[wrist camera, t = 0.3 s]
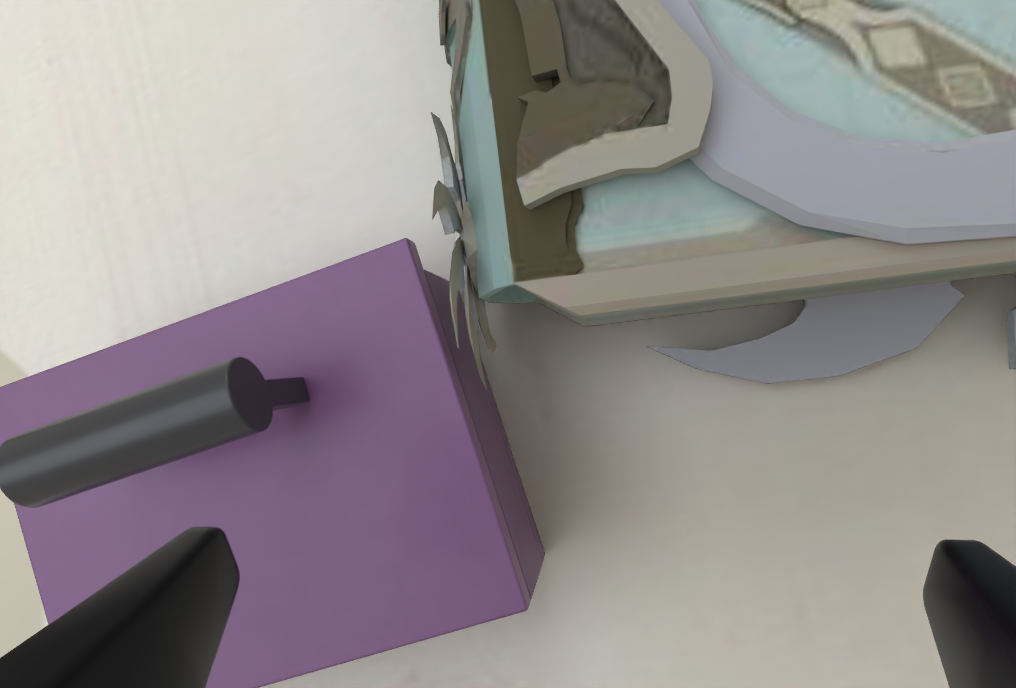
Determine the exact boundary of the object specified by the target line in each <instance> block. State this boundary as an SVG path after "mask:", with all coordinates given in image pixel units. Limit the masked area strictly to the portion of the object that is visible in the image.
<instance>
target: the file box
mask: <svg viewBox="0 0 1016 688" xmlns="http://www.w3.org/2000/svg"><path fill="white" fill-rule="evenodd" d="M424 273H425V276H426V279H427V282H428V285H429V289H430V292H431V295H432V298H433V301H434V304H435V307H436V310H437V313H438V316H439V319H440V322H441V325H442V328H443V331H444V335H445V338H446V341H447V344H448V347H449V350H450V353H451V356H452V359H453V362H454V365H455V368H456V371H457V374H458V378H459V381H460V384H461V387H462V390H463V393H464V396H465V399H466V402H467V405H468V408H469V411H470V414H471V417H472V420H473V424H474V427H475V430H476V433H477V436H478V439H479V442H480V445H481V448H482V451H483V454H484V457H485V460H486V463H487V466H488V470H489V473H490V476H491V479H492V482H493V485H494V488H495V491H496V494H497V497H498V500H499V503H500V506H501V509H502V512H503V516H504V519H505V522H506V525H507V528H508V531H509V534H510V537H511V540H512V543H513V546H514V549H515V552H516V555H517V559H518V562H519V565H520V568H521V571H522V574H523V577H524V580H525V583H526V586H527V589H528V592H529V595H530V598H532V595H533V592H534V589H535V585H536V582H537V579H538V575H539V572H540V569H541V566H542V562H543V559H544V556H545V553H544V550H543V547H542V544H541V541H540V538H539V535H538V531H537V528H536V525H535V522H534V519H533V516H532V513H531V510H530V507H529V504H528V501H527V498H526V495H525V492H524V489H523V486H522V483H521V480H520V477H519V474H518V471H517V468H516V465H515V461H514V458H513V455H512V452H511V449H510V446H509V443H508V440H507V437H506V434H505V431H504V428H503V425H502V422H501V419H500V416H499V413H498V410H497V407H496V404H495V401H494V398H493V394H492V391H491V388H490V385H489V382H488V379H487V376H486V373H485V370H484V367H483V364H482V361H481V365H482V370H483V374H484V379H485V383H486V388H487V390H486V388H485V386H484V384H483V382H482V379H481V377H480V375H479V371H478V367H477V363H476V359H475V356H474V352H473V349H472V345H471V342H470V338H469V333H468V327H467V321H466V314H465V309H464V306H463V303H462V300H461V297H460V294H459V291H458V297H457V325H458V345H459V348H458V347H457V341H456V336H455V330H454V324H453V318H452V312H451V303H450V281H447V280H445V279H443V278H441V277H439V276H437V275H435V274H432V273H430V272H428V271H426V270H424ZM480 360H481V358H480Z"/></svg>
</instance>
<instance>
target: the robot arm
mask: <svg viewBox="0 0 1016 688" xmlns="http://www.w3.org/2000/svg"><path fill="white" fill-rule="evenodd" d="M239 582H240V573H239V568H238V565H237V562H236V560H235V557H234V554H233V552H232V549H231V547H230V544H229V541H228V539H227V536H226V534H225V532H224V531H223V530H222V529H221V528H218V527H191V528H188V529H187V530H185V531H183V532H182V533H181V534H179V535H178V536H176V537H175V538H173V539H172V540H170V541H169V542H168V543H166V544H165V545H163V546H162V547H160V548H159V549H157V550H156V551H155V552H153V553H152V554H150V555H149V556H147V557H146V558H144V559H143V560H142V561H140V562H139V563H137V564H136V565H134V566H133V567H131V568H130V569H128V570H127V571H126V572H124V573H123V574H121V575H120V576H118V577H117V578H115V579H114V580H113V581H111V582H110V583H108V584H107V585H105V586H104V587H102V588H101V589H100V590H98V591H97V592H95V593H94V594H92V595H91V596H89V597H88V598H87V599H85V600H84V601H82V602H81V603H79V604H78V605H76V606H75V607H74V608H72V609H71V610H69V611H68V612H66V613H65V614H63V615H62V616H60V617H59V618H58V619H56V620H55V621H53V622H52V623H50V624H49V625H47V626H46V627H45V628H43V629H42V630H40V631H39V632H37V633H36V634H34V635H33V636H32V637H30V638H29V639H27V640H26V641H24V642H23V643H21V644H20V645H19V646H17V647H16V648H14V649H13V650H11V651H10V652H8V653H7V654H5V655H4V656H3V657H1V658H0V688H205V687H206V684H207V682H208V679H209V676H210V673H211V670H212V667H213V664H214V661H215V658H216V655H217V652H218V649H219V645H220V642H221V639H222V636H223V633H224V630H225V627H226V624H227V621H228V618H229V615H230V612H231V609H232V606H233V603H234V600H235V597H236V594H237V591H238V587H239ZM923 600H924V606H925V610H926V613H927V616H928V620H929V623H930V626H931V629H932V632H933V636H934V639H935V642H936V645H937V649H938V652H939V655H940V658H941V661H942V665H943V668H944V671H945V674H946V678H947V681H948V684H949V687H950V688H1016V566H1014V565H1013V564H1011V563H1010V562H1009V561H1007V560H1006V559H1005V558H1003V557H1002V556H1000V555H999V554H998V553H996V552H995V551H993V550H992V549H991V548H989V547H988V546H986V545H985V544H983V543H981V542H979V541H975V540H942V541H940V542H939V543H938V544H937V546H936V548H935V550H934V554H933V557H932V560H931V564H930V567H929V571H928V574H927V578H926V581H925V584H924V589H923Z"/></svg>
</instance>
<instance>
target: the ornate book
mask: <svg viewBox="0 0 1016 688" xmlns="http://www.w3.org/2000/svg"><path fill="white" fill-rule="evenodd" d="M439 27H440V45H444V47H445V54H446V60H447V63H448V64H449V65H450V66H451V67H452V71H453V72H452V82H451V91H450V93H451V99H452V105H453V110H452V106H451V111H452V120H453V130H454V139H455V163H454V161H453V157H452V153H451V149H450V146H449V142H448V138H447V135H446V131H445V129H444V127H443V125H442V122H441V120H440V118H438V117H437V116H436V115H434V114H433V113H432V112H431V115H432V118H433V122H434V125H435V129H436V132H437V136H438V141H439V148H440V154H441V161H442V169H443V177H444V184H445V185H443V184H442V183H441V182H440V181H439V180H438V182H437V184H436V186H435V188H434V202H433V218H434V216H435V214H436V213H437V211H438V212H439V215H440V218H441V221H442V225H443V228H444V231H445V235H447V234H451V233H455V231H456V237H455V244H454V250H453V252H452V261H451V272H450V303H451V312H452V318H453V324H454V330H455V336H456V341H457V347H458V348H459V345H458V325H457V297H458V291H459V290H464V299H465V314H466V321H467V327H468V333H469V338H470V342H471V345H472V349H473V352H474V356H475V359H476V363H477V367H478V371H479V375H480V377H481V379H482V382H483V384H484V386H485V388H486V383H485V379H484V374H483V370H482V365H481V360H480V352H479V343H478V322H479V324H480V327H481V330H482V333H483V335H484V338H485V341H486V344H487V346H488V349H489V350H490V351H491V352H492V353H493V351H494V349H495V347H496V343H495V342H494V340H493V339H492V337H491V335H490V333H489V328H488V322H487V317H486V310H485V302H484V301H486V302H488V303H540V304H542V305H544V306H546V307H548V308H550V309H551V310H553V311H555V312H557V313H559V314H561V315H563V316H565V317H567V318H569V319H570V320H572V321H574V322H576V323H578V324H580V325H582V326H595V325H603V324H611V323H619V322H627V321H635V320H643V319H651V318H659V317H667V316H674V315H682V314H690V313H698V312H706V311H714V310H722V309H730V308H738V307H746V306H754V305H762V304H770V303H778V302H786V301H794V300H802V299H804V305H805V306H804V307H803V309H802V310H801V311H800V313H799V314H798V316H797V317H796V319H795V320H794V322H793V323H792V324H790V325H788V326H786V327H783V328H781V329H779V330H777V331H775V332H773V333H771V334H768V335H766V336H764V337H762V338H760V339H756V340H752V341H748V342H744V343H740V344H736V345H732V346H728V347H724V348H720V349H716V350H712V351H707V350H694V349H680V348H667V347H653V346H647V347H649V348H651V349H654V350H656V351H658V352H660V353H663V354H665V355H667V356H669V357H671V358H674V359H676V360H678V361H680V362H683V363H685V364H687V365H689V366H691V367H694V368H696V369H701V370H705V371H710V372H715V373H719V374H724V375H729V376H733V377H738V378H743V379H747V380H752V381H757V382H761V383H766V384H769V383H778V382H787V381H797V380H806V379H815V378H824V377H834V376H841V375H844V374H846V373H849V372H852V371H855V370H857V369H860V368H863V367H866V366H868V365H871V364H874V363H877V362H879V361H882V360H885V359H888V358H890V357H893V356H896V355H899V354H901V353H904V352H907V351H910V350H912V349H915V348H917V347H918V346H919V345H920V344H921V343H922V342H923V341H924V340H925V338H926V337H927V336H928V335H929V334H930V333H931V332H932V331H933V330H934V329H935V327H936V326H937V325H938V324H939V323H940V322H941V321H942V320H943V319H944V318H945V316H946V315H947V314H948V313H949V312H950V311H951V310H952V309H953V308H954V307H955V305H956V304H957V303H958V302H959V301H960V300H961V299H962V298H963V297H964V296H965V295H964V294H962V293H961V292H960V291H958V290H957V289H956V288H954V287H953V286H952V285H950V282H951V281H954V280H962V279H970V278H978V277H986V276H994V275H1002V274H1010V273H1016V0H439ZM453 111H454V113H453ZM433 218H432V220H433ZM464 278H465V281H464ZM1006 314H1007V335H1008V356H1009V369H1016V306H1015V307H1013V308H1012V309H1011V310H1009V311H1008V312H1006ZM486 390H487V388H486Z"/></svg>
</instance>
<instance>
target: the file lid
mask: <svg viewBox="0 0 1016 688" xmlns="http://www.w3.org/2000/svg"><path fill="white" fill-rule="evenodd" d="M0 488H1V490H2V491H3V493H4V494H5V495H6V496H7V497H8V498H9V499H10V500H11V501H13V502H14V504H15V508H16V511H17V515H18V518H19V522H20V525H21V529H22V533H23V536H24V540H25V543H26V547H27V550H28V554H29V557H30V561H31V564H32V568H33V571H34V575H35V578H36V582H37V585H38V589H39V593H40V596H41V600H42V603H43V607H44V610H45V614H46V617H47V621H48V624H50V623H52V622H53V621H55V620H56V619H58V618H59V617H60V616H62V615H63V614H65V613H66V612H68V611H69V610H71V609H72V608H74V607H75V606H76V605H78V604H79V603H81V602H82V601H84V600H85V599H87V598H88V597H89V596H91V595H92V594H94V593H95V592H97V591H98V590H100V589H101V588H102V587H104V586H105V585H107V584H108V583H110V582H111V581H113V580H114V579H115V578H117V577H118V576H120V575H121V574H123V573H124V572H126V571H127V570H128V569H130V568H131V567H133V566H134V565H136V564H137V563H139V562H140V561H142V560H143V559H144V558H146V557H147V556H149V555H150V554H152V553H153V552H155V551H156V550H157V549H159V548H160V547H162V546H163V545H165V544H166V543H168V542H169V541H170V540H172V539H173V538H175V537H176V536H178V535H179V534H181V533H182V532H183V531H185V530H187V529H188V528H191V527H218V528H221V529H222V530H223V531H224V532H225V534H226V536H227V539H228V541H229V544H230V547H231V549H232V552H233V554H234V557H235V560H236V562H237V565H238V568H239V573H240V582H239V587H238V591H237V594H236V597H235V600H234V603H233V606H232V609H231V612H230V615H229V618H228V621H227V624H226V627H225V630H224V633H223V636H222V639H221V642H220V645H219V649H218V652H217V655H216V658H215V661H214V664H213V667H212V670H211V673H210V676H209V679H208V682H207V684H206V687H205V688H259V687H262V686H266V685H269V684H273V683H276V682H279V681H283V680H286V679H290V678H293V677H297V676H300V675H304V674H307V673H311V672H314V671H318V670H321V669H325V668H328V667H332V666H335V665H339V664H342V663H346V662H349V661H353V660H356V659H360V658H363V657H367V656H370V655H374V654H377V653H381V652H384V651H388V650H391V649H395V648H398V647H401V646H405V645H408V644H412V643H415V642H419V641H422V640H426V639H429V638H433V637H436V636H440V635H443V634H447V633H450V632H454V631H457V630H461V629H464V628H468V627H471V626H475V625H478V624H482V623H485V622H489V621H492V620H496V619H499V618H503V617H506V616H510V615H513V614H517V613H520V612H524V611H526V610H528V607H529V604H530V599H531V598H530V595H529V592H528V589H527V586H526V583H525V580H524V577H523V574H522V571H521V568H520V565H519V562H518V559H517V555H516V552H515V549H514V546H513V543H512V540H511V537H510V534H509V531H508V528H507V525H506V522H505V519H504V516H503V512H502V509H501V506H500V503H499V500H498V497H497V494H496V491H495V488H494V485H493V482H492V479H491V476H490V473H489V470H488V466H487V463H486V460H485V457H484V454H483V451H482V448H481V445H480V442H479V439H478V436H477V433H476V430H475V427H474V424H473V420H472V417H471V414H470V411H469V408H468V405H467V402H466V399H465V396H464V393H463V390H462V387H461V384H460V381H459V378H458V374H457V371H456V368H455V365H454V362H453V359H452V356H451V353H450V350H449V347H448V344H447V341H446V338H445V335H444V331H443V328H442V325H441V322H440V319H439V316H438V313H437V310H436V307H435V304H434V301H433V298H432V295H431V292H430V289H429V285H428V282H427V279H426V276H425V273H424V270H423V267H422V264H421V261H420V258H419V255H418V252H417V249H416V246H415V243H414V242H412V241H411V240H409V239H407V238H405V239H402V240H399V241H396V242H394V243H391V244H388V245H386V246H383V247H380V248H377V249H375V250H372V251H369V252H367V253H364V254H361V255H358V256H356V257H353V258H350V259H348V260H345V261H342V262H339V263H337V264H334V265H331V266H328V267H326V268H323V269H320V270H318V271H315V272H312V273H309V274H307V275H304V276H301V277H299V278H296V279H293V280H290V281H288V282H285V283H282V284H279V285H277V286H274V287H271V288H269V289H266V290H263V291H260V292H258V293H255V294H252V295H250V296H247V297H244V298H241V299H239V300H236V301H233V302H231V303H228V304H225V305H222V306H220V307H217V308H214V309H211V310H209V311H206V312H203V313H201V314H198V315H195V316H192V317H190V318H187V319H184V320H182V321H179V322H176V323H173V324H171V325H168V326H165V327H163V328H160V329H157V330H154V331H152V332H149V333H146V334H143V335H141V336H138V337H135V338H133V339H130V340H127V341H124V342H122V343H119V344H116V345H114V346H111V347H108V348H105V349H103V350H100V351H97V352H95V353H92V354H89V355H86V356H84V357H81V358H78V359H75V360H73V361H70V362H67V363H65V364H62V365H59V366H56V367H54V368H51V369H48V370H46V371H43V372H40V373H37V374H35V375H32V376H29V377H26V378H24V379H21V380H18V381H16V382H13V383H10V384H8V385H5V386H2V387H0Z"/></svg>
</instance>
